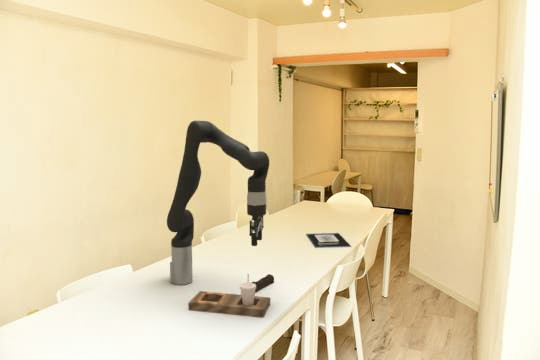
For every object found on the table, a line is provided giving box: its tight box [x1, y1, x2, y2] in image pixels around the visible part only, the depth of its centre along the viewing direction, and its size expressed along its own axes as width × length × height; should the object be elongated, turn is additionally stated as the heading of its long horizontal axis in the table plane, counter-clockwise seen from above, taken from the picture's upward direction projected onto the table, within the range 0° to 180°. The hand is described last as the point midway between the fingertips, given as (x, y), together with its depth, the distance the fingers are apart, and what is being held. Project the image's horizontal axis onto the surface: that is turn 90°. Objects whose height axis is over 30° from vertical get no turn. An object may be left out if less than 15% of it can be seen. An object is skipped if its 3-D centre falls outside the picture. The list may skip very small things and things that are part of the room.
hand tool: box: [251, 274, 275, 293], centre depth 196 cm, size 19×4×5 cm, turn 146°
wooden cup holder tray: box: [188, 290, 271, 318], centre depth 176 cm, size 30×12×3 cm, turn 77°
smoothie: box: [239, 273, 256, 306], centre depth 174 cm, size 6×6×14 cm
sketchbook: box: [305, 232, 352, 249], centre depth 275 cm, size 22×30×2 cm
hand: (256, 242), depth 176 cm, fingers open, 8 cm apart
